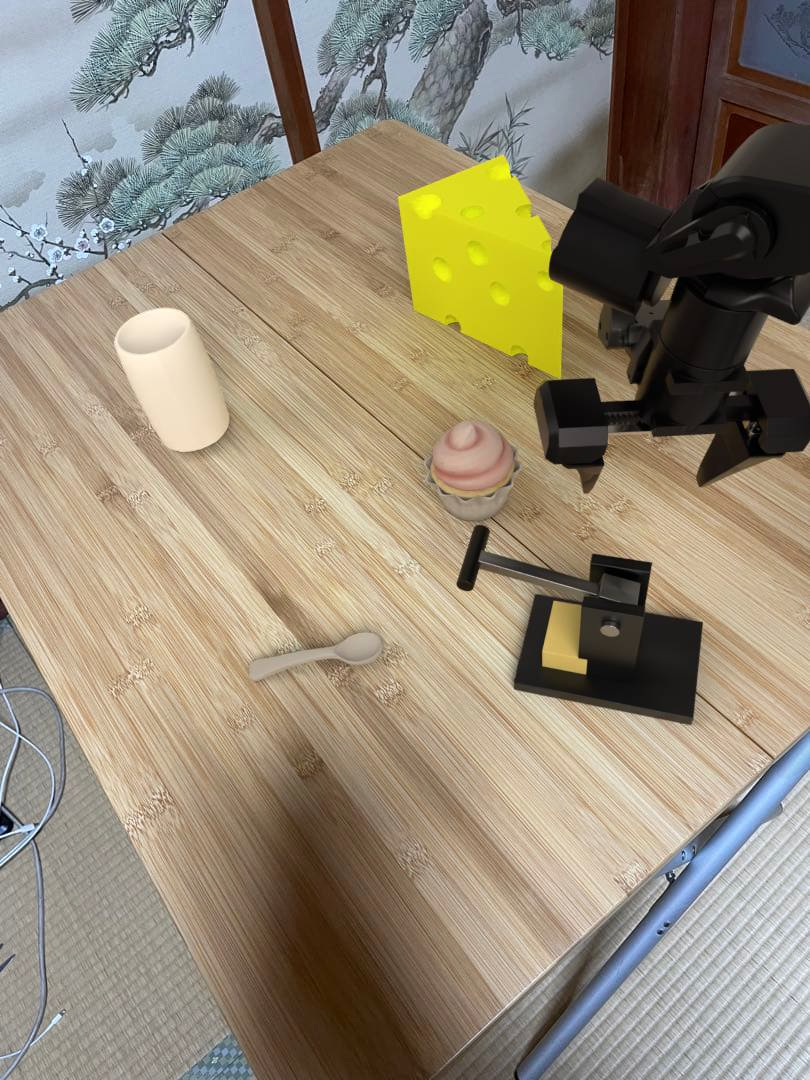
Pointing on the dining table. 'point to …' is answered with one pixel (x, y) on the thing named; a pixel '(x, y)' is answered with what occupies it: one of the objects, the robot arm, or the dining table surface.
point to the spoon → (322, 655)
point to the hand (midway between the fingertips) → (642, 485)
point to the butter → (563, 639)
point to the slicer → (618, 652)
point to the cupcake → (473, 470)
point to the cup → (173, 378)
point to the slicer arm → (539, 574)
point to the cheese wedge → (484, 262)
